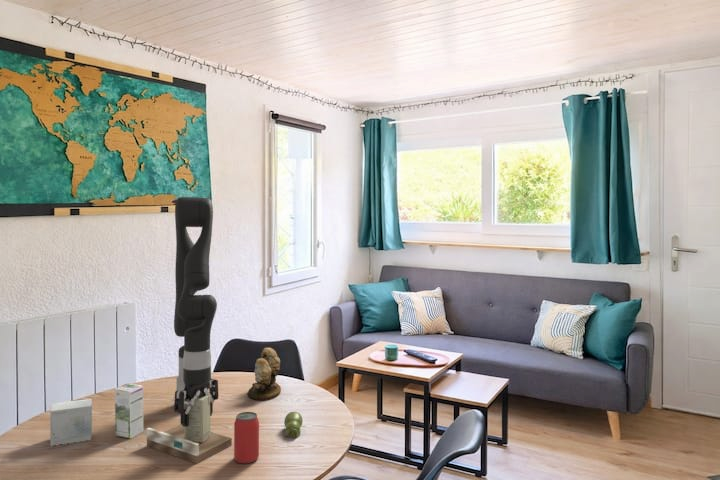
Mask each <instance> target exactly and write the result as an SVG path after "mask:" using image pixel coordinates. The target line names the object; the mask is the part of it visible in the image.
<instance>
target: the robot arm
mask: <svg viewBox="0 0 720 480" xmlns="http://www.w3.org/2000/svg"><path fill="white" fill-rule="evenodd" d="M213 208H214V207H213V203H212V200H211V199H210V198H208V197H194V196H191V197H190V196H181V197H178V198H177V199H176V201H175V206H174V221H175V222H174V223H175V239H176V240H175V241H176V242H175V243H176V246H175V247H176V250H175V270H174V272H175V274H174V275H175V277H174V278H175V303H174V304H175V305H174V316H173V330H174V333H175V336H177V337H180V338H181V337H182V338H184V339H183V341H184V342H183V344H184V345H181V347H179V348H178V376H177V377H176V390H175V391H174V403H173V412H174V413H177V414H180V425H182V426H184V427H187V426H189V413H188V412H189V410H190V408H191V407H192V406H193V405H194V403H195V401H196V399H198V398H200V397H203V396H210V417H212V416H213V413H214V412H213V411H214V409H213V404H214V402H215V401H216V400H217V401H218V400H219V381H218V380H217V379H215V378H212V354H211V331H212V327H213V323H214V319H215V315H216V312H217V308H218V303H217V300H216V298H215V297H214V295H212V294H196V293H197V292H199V291H203V290H205V289H207V288H208V287H209V286H210V255H211V254H210V253H211V252H210V251H211V244H212V237H213V236H212V235H213V234H212V233H213V217H214V209H213ZM187 228H201V230H200V231H201V232H200V234H199V237H198V239H197V240H196V242H195V243H194V242H193V240H192V239H191V237H190V234H189V233H188V229H187ZM187 399H189V400H190V402H187ZM186 405H187V407H186ZM185 407H186V409H185Z"/></svg>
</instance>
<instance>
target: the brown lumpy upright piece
mask: <svg viewBox="0 0 720 480" xmlns="http://www.w3.org/2000/svg"><path fill="white" fill-rule="evenodd" d="M280 367H281V359H280V357H279V356H278V354H277V352H276V350H275V349H273V348H272V347H264V348H263V350H262V351H261V353H260V358H258V359H257V358H256V362H255V364H254V371H253V372H254V377H255V378H254V379H255V382H254V383H252V384H251V387H250V388H249V389H248V391H247V396H248V398H249V399H252V400H254V401H262V402H263V401H270V400H273V399H276V398H277V397H278V396H279V395H281V391H282V390H281V389H282V387H281V385H279V383H277V381H276V380H277V379H276V377H277V376H278V375H279V371H280V369H281V368H280Z"/></svg>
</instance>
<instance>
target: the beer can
mask: <svg viewBox="0 0 720 480" xmlns="http://www.w3.org/2000/svg"><path fill="white" fill-rule="evenodd" d="M233 425H234V426H233V427H234V428H233V429H234V430H233V431H234V434H233V435H234V436H233V437H234V438H233V441H234V443H233V447H234V448H233V453H234V454H233V456H234V457H233V459H234V461H235V462H236V463H239V464H244V465H245V464H251V463H253V462H255V461H257V460H258V458H259V457H260V456H259V455H260V440H259V439H260V421H259V417H258V414H257V413H256V412H254V411H243V412H239V413H238V414H236V416H235V420H234V424H233Z"/></svg>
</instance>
